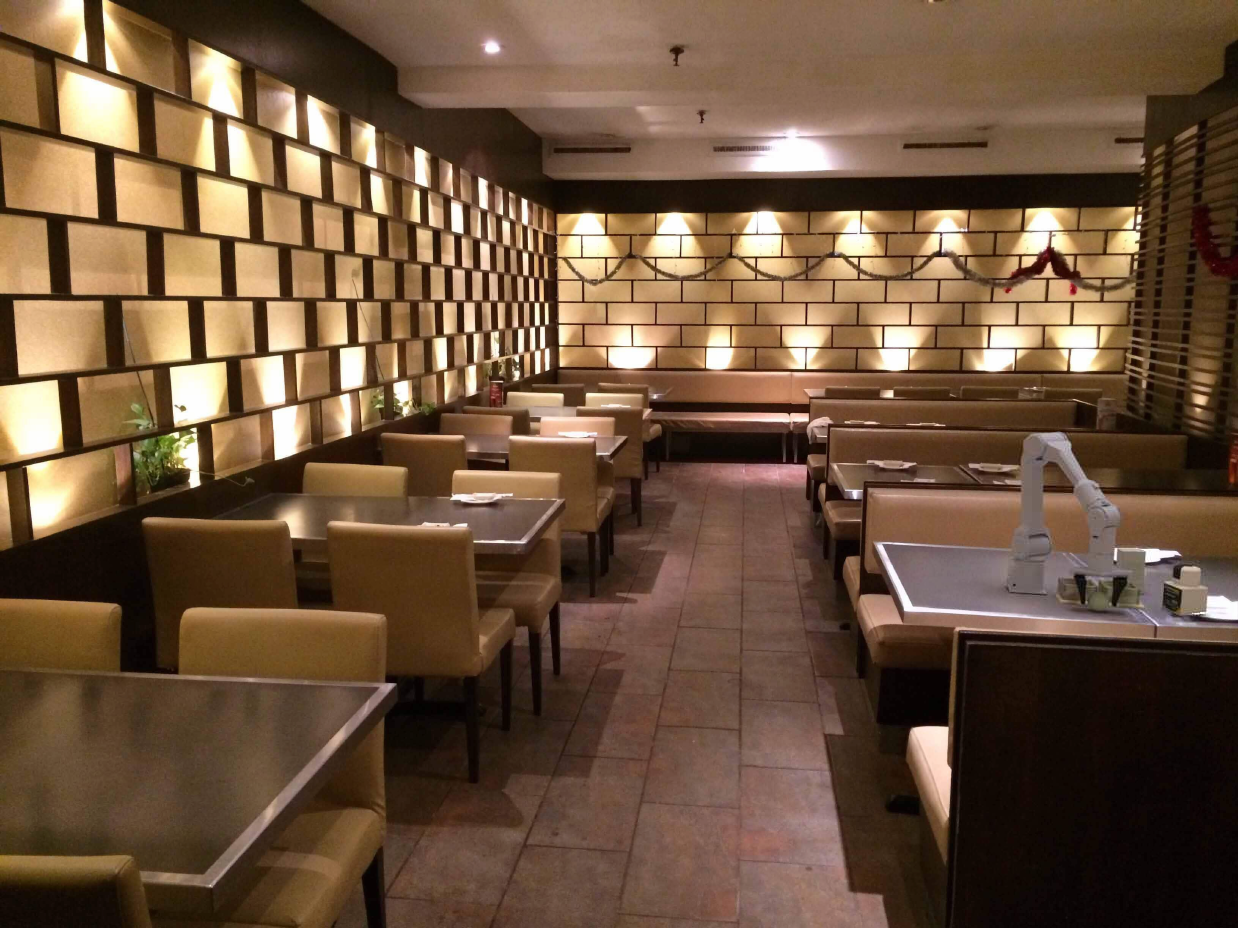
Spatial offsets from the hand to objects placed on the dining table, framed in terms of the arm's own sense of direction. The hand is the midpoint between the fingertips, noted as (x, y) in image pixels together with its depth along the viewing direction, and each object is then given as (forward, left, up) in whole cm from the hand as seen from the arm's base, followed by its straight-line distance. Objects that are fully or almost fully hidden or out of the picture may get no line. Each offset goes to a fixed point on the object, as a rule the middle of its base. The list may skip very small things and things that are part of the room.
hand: (1098, 604), depth 247 cm
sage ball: (0, 0, +1) cm, 1 cm away
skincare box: (+12, +22, -2) cm, 25 cm away
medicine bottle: (+21, +5, -2) cm, 22 cm away
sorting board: (+2, +10, -2) cm, 10 cm away
